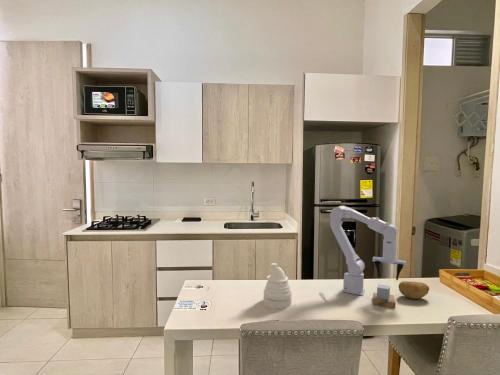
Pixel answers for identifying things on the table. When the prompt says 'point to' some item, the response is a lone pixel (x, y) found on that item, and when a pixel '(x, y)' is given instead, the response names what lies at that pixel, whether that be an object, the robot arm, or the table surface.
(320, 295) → the butter knife
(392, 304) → the walnut block
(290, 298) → the honey pot
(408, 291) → the potato
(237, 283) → the table surface
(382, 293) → the cube
